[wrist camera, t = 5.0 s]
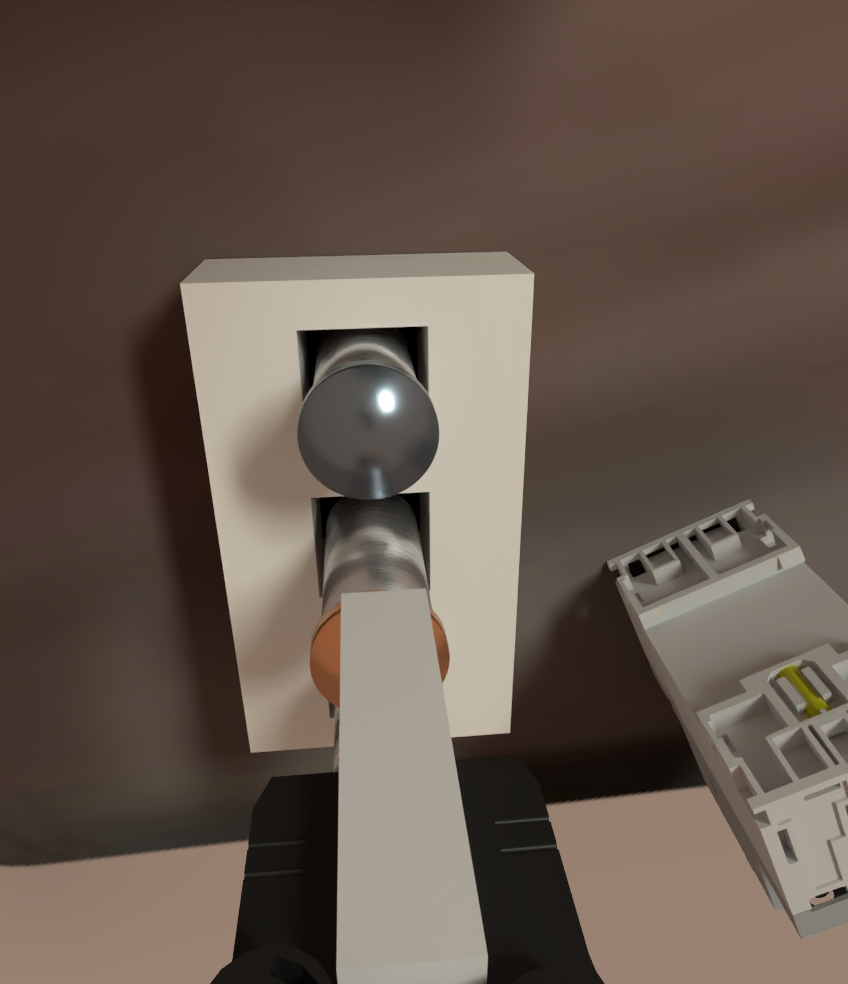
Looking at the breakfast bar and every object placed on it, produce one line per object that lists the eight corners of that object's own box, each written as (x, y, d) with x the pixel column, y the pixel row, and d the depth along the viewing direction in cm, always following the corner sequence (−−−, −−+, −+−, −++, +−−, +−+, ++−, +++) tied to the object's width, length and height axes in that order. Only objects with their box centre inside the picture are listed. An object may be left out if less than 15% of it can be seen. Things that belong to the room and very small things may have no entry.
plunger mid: (314, 483, 30) (303, 609, 22) (423, 478, 31) (450, 600, 23) (322, 575, 32) (315, 721, 24) (424, 570, 33) (449, 711, 25)
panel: (205, 259, 30) (180, 283, 25) (506, 251, 30) (534, 273, 26) (261, 680, 39) (250, 752, 34) (491, 664, 40) (510, 732, 35)
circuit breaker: (684, 746, 44) (833, 1022, 30) (606, 561, 38) (750, 804, 24) (807, 696, 43) (1016, 957, 30) (748, 499, 37) (980, 714, 23)
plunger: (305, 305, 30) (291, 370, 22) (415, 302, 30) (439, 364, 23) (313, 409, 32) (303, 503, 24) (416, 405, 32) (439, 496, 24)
